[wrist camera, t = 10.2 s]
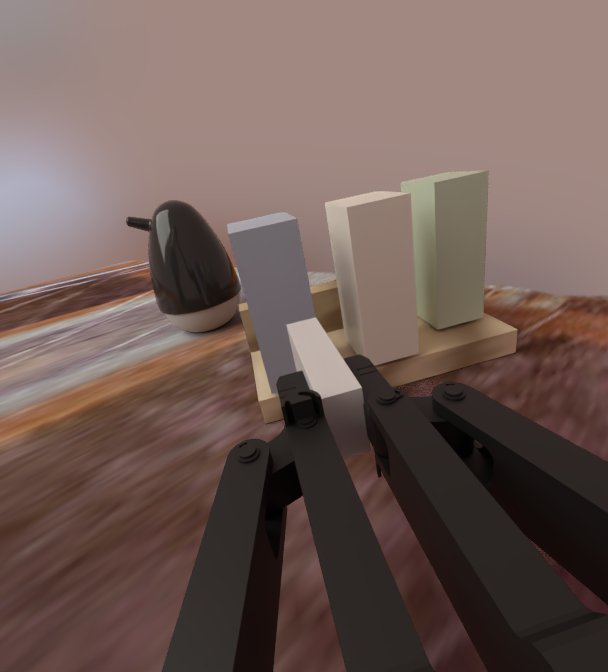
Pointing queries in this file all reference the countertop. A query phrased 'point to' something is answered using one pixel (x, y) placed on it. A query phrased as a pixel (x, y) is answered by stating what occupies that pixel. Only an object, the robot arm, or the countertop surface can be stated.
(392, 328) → the cream rectangular block
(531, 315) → the countertop surface
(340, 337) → the wooden key holder base
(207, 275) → the pump dispenser
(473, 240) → the pale green tall block
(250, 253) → the slate key
